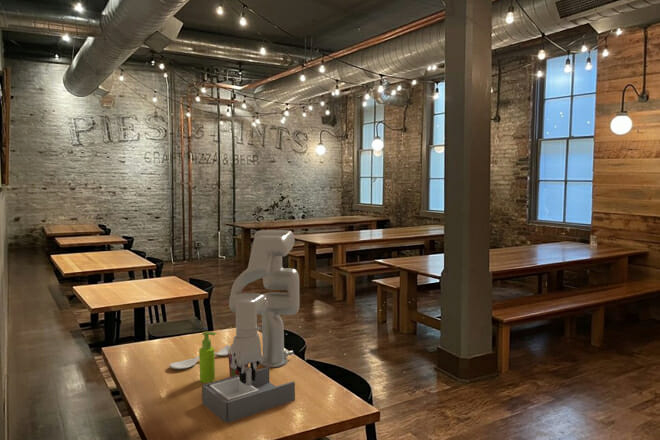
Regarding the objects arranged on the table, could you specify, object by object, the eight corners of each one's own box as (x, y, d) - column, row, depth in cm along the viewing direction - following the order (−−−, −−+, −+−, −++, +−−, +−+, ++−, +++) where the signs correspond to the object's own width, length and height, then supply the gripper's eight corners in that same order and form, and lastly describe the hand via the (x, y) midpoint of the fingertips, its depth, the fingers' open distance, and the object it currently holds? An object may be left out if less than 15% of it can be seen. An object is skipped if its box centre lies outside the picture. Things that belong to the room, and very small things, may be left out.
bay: (268, 383, 202) (267, 366, 201) (294, 400, 187) (294, 382, 186) (202, 403, 184) (201, 385, 184) (226, 423, 170) (225, 403, 169)
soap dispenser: (213, 383, 202) (212, 335, 200) (197, 382, 204) (196, 334, 202) (219, 377, 208) (218, 330, 206) (204, 376, 209) (202, 329, 207)
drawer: (241, 391, 192) (241, 362, 191) (262, 404, 180) (261, 374, 179) (209, 400, 184) (209, 370, 183) (228, 415, 172) (228, 383, 171)
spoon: (239, 355, 235) (239, 348, 235) (175, 374, 212) (175, 366, 212) (228, 350, 241) (228, 343, 241) (165, 368, 219) (165, 361, 218)
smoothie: (253, 381, 205) (252, 333, 203) (243, 389, 197) (242, 339, 195) (235, 378, 207) (234, 331, 206) (224, 386, 199) (223, 337, 198)
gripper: (260, 325, 191) (261, 372, 193) (221, 334, 181) (222, 383, 183) (271, 330, 185) (272, 378, 187) (231, 339, 175) (232, 390, 177)
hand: (247, 380), depth 185 cm, fingers closed on drawer, 3 cm apart
